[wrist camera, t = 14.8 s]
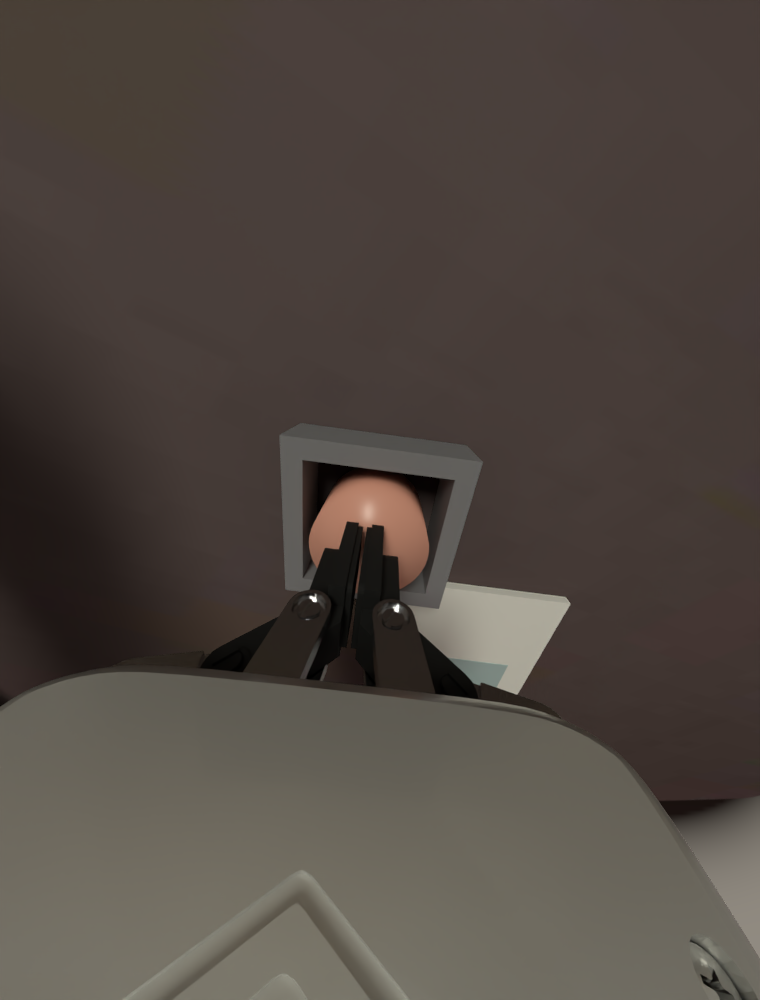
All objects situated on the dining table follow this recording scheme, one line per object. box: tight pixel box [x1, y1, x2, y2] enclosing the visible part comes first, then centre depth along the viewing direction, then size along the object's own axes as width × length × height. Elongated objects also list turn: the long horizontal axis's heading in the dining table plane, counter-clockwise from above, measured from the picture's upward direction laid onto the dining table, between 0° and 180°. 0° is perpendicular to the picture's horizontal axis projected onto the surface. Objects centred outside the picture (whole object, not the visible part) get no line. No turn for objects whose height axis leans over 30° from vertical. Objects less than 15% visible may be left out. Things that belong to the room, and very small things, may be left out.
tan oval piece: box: [309, 468, 429, 593], centre depth 14 cm, size 6×6×4 cm
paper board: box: [408, 582, 570, 695], centre depth 22 cm, size 18×12×1 cm, turn 173°
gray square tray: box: [280, 423, 483, 609], centre depth 15 cm, size 9×9×3 cm
